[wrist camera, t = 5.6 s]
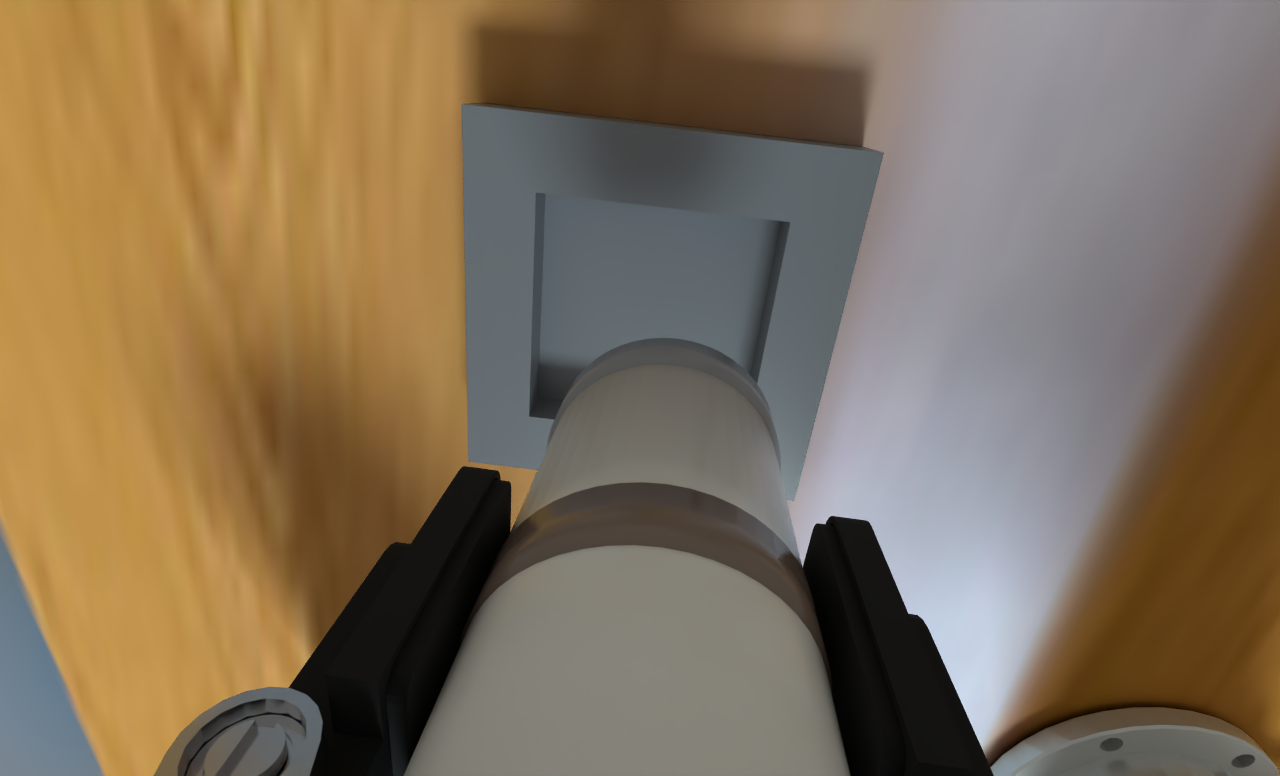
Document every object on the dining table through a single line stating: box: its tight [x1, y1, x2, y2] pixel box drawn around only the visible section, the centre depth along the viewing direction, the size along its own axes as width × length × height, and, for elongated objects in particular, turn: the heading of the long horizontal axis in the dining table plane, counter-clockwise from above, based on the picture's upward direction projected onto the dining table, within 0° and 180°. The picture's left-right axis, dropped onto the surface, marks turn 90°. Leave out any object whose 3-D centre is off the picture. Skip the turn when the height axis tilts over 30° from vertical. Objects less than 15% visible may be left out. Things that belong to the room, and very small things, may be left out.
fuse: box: [404, 338, 851, 776], centre depth 8 cm, size 5×5×12 cm
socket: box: [462, 103, 884, 501], centre depth 20 cm, size 11×14×2 cm
